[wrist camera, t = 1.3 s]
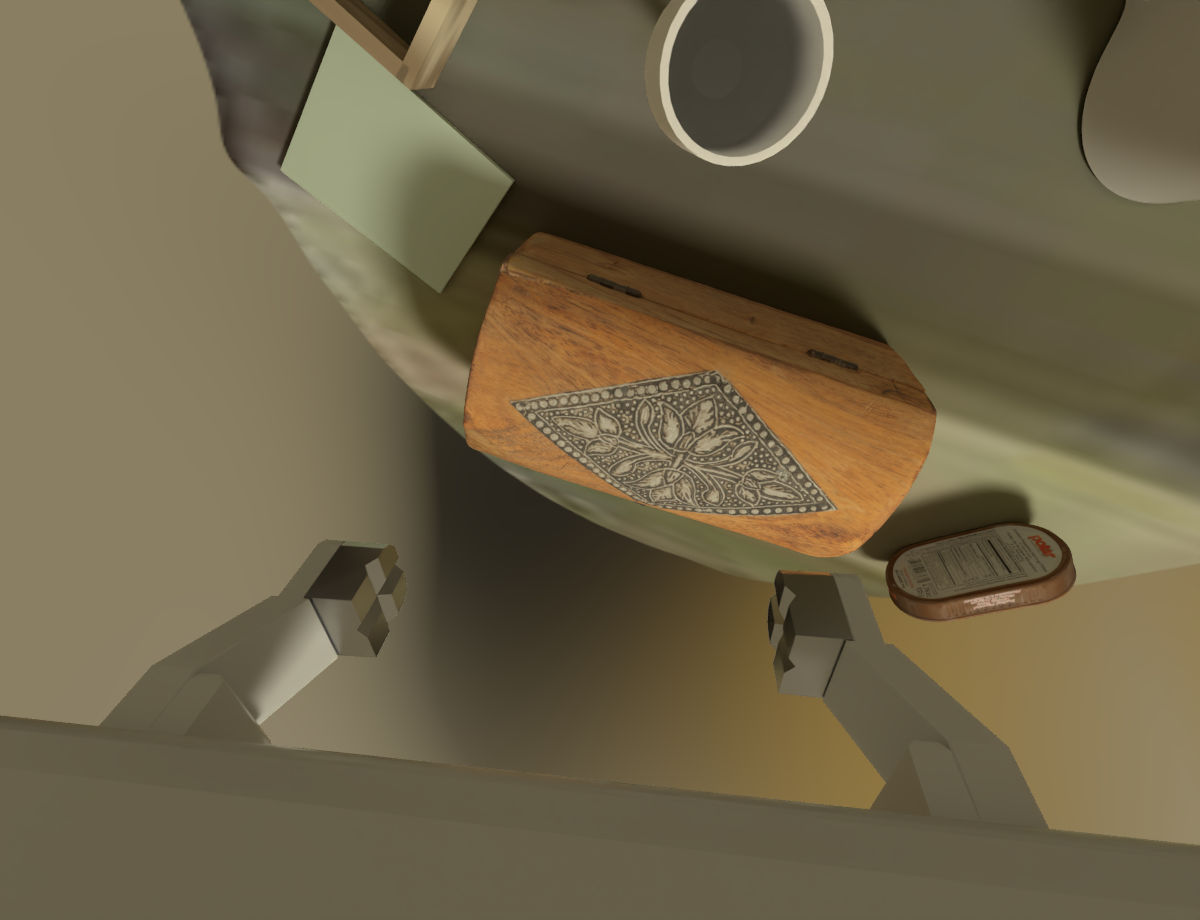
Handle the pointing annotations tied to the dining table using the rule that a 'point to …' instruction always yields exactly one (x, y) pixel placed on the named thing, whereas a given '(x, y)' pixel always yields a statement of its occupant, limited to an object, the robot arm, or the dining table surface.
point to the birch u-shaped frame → (405, 62)
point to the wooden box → (693, 399)
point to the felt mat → (392, 164)
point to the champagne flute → (738, 74)
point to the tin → (980, 572)
